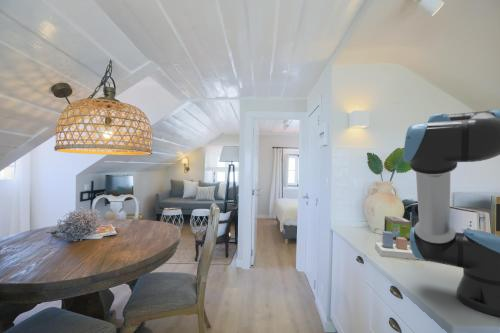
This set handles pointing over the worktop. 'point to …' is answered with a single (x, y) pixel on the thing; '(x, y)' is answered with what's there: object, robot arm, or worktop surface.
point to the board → (394, 251)
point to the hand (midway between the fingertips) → (438, 203)
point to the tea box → (398, 227)
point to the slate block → (387, 239)
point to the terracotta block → (401, 243)
